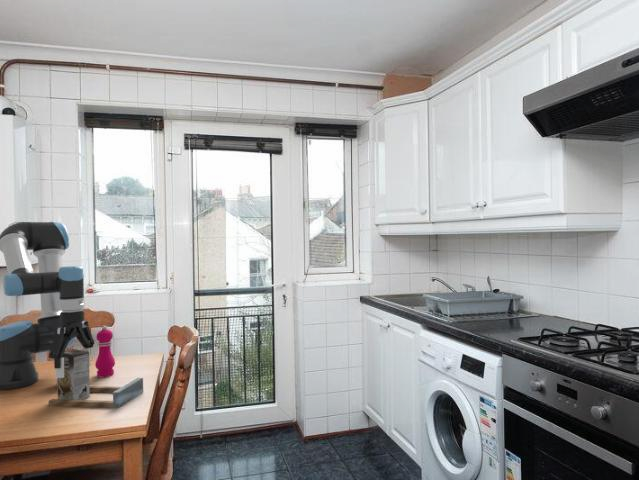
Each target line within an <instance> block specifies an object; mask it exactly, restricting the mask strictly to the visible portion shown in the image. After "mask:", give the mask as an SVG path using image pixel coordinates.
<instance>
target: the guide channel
mask: <svg viewBox="0 0 639 480" xmlns="http://www.w3.org/2000/svg"><path fill="white" fill-rule="evenodd" d="M143 392H144V377H137V378H134V379H133V380H132V381H129V382H128V383H127V384H125V385H123V386H110V385H109V386H107V385H106V386H103V385H102V386H101V385H98V386H97V385H92V386H91V385H90V393H108V394H109V393H111V394H112V400H99V399H97V400H93V399H91V400H90V399H82V400H64V399H57V398H52V399H50V400H48V407H80V408H109V409H110V408H112V409H113V408H114V409H119V408H121V407H123V406H124V405H126V404H127V403H129V402H130V401H131V400H134V399H135V398H137V396H139V395H140V394H142V393H143Z"/></svg>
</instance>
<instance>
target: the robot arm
mask: <svg viewBox="0 0 639 480" xmlns="http://www.w3.org/2000/svg"><path fill="white" fill-rule="evenodd" d="M69 236H70V235H69V232H68V230H67V227H66V225H65V224H64V223H62V222H54V221H43V222H42V221H21V222H16V223H12V224H11V225H9V226H7V227H6V228H5V229H4V230H3V231H2V232H1V233H0V252H2V254H3V257H4V262H5V266H6V270H7V274H5V275H4V277H3V282H2V283H3V293H4V295H5V296H6V297H15V296H16V297H20V296H29V295H40V310H41V315H40V316H39V317H38V318H37V323H33V321H31V320H21V321H20V320H19V321H15V322H12V323H7V324H5V325H2V326H0V390H1V391H3V390H12V389H20V388H23V387H27V386H30V385H32V384H35V383H37V382H39V379H40V378H39V373H38V371H37V368H36V366H35V364H34V354H41V353H48V358H50V359H53V366H54V367H53V368H54V377H55V378H64V358H62V356H63V354H64V351H66V349H69V348H71V347H72V346H73V345H74V342H75V340H76V339H77V340H78V342H79V343H80V344H81V346H82V348H81V350H82V351H88V352H89V367H91V348H93V347H94V345H95V340H94V337H93V335H92V332H91V330H90V326H89V321H88V320H85V310H84V308H85V299H84V298H85V296H84V295H85V284H84V281H85V280H84V277H85V274H84V268H83V266H81V265H75V266H74V265H73V266H63V260H62V259H63V258H62V257H63V255H65V253H66V250H67V249H69V246H70V237H69ZM28 251H33V252H32V253H33V256H35V257H36V258H37V262H38V265H37V266H38V272H34V269H33V265H32V261H31V259H30V255H29V252H28Z"/></svg>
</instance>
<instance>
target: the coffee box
mask: <svg viewBox="0 0 639 480" xmlns="http://www.w3.org/2000/svg"><path fill="white" fill-rule="evenodd" d="M62 358H64V378H57V379H58V386H57V398H58V399H64V400H86V399H87V398H90V397H91V396H90V395H91V394H90V393H91V392H90V386H91V385H90V380H91V379H90V366H89V352H88V351H82V349H75V348H72V349H68V350H66V349H65V351H64V354H63V356H62ZM57 379H56V380H57Z"/></svg>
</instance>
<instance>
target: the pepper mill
mask: <svg viewBox="0 0 639 480" xmlns="http://www.w3.org/2000/svg"><path fill="white" fill-rule="evenodd" d="M113 335H114V334H113V331H112V330H110V329H108V327H107V325H103V326H102V327H101V330H99V331H98V332H97V334H96V340H97V341H98V345H97V346H98V351H99V352H98V355H97V358H96V360H95V365H94V366H95V368H96V370H97V371H96V376H97V378H105V377H110V376H113V375H114V374H115V369H114V366H115V365H116V362H115V358H114V355H113V353H112V349H111V345H112V339H113V337H114V336H113Z"/></svg>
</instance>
